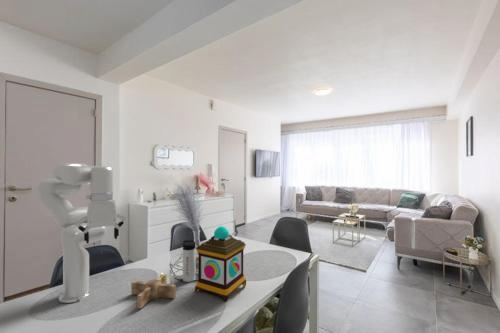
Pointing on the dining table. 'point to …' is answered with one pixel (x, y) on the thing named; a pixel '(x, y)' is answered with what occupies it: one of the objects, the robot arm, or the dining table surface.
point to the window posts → (170, 278)
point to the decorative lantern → (220, 264)
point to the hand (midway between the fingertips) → (101, 240)
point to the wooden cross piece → (152, 290)
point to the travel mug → (189, 261)
